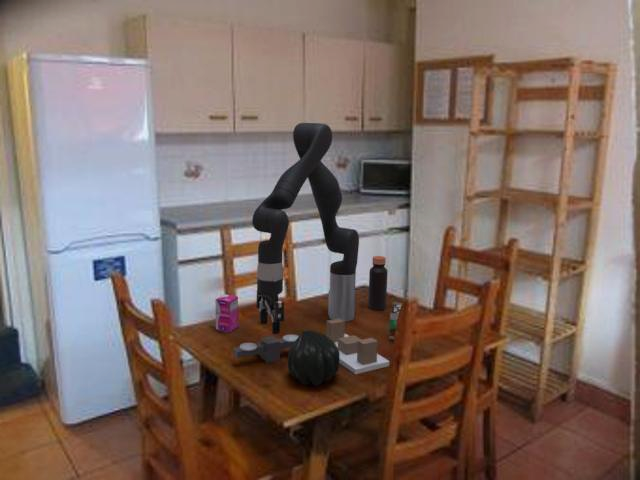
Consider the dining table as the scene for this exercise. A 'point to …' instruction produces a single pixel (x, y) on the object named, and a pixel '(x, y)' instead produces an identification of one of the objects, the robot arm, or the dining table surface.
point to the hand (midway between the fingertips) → (269, 328)
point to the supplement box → (226, 313)
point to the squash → (313, 358)
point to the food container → (394, 319)
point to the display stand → (355, 349)
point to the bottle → (378, 284)
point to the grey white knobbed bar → (266, 347)
